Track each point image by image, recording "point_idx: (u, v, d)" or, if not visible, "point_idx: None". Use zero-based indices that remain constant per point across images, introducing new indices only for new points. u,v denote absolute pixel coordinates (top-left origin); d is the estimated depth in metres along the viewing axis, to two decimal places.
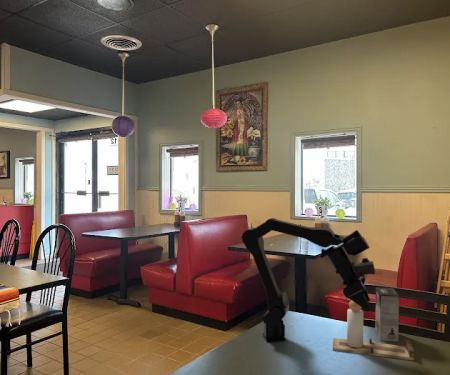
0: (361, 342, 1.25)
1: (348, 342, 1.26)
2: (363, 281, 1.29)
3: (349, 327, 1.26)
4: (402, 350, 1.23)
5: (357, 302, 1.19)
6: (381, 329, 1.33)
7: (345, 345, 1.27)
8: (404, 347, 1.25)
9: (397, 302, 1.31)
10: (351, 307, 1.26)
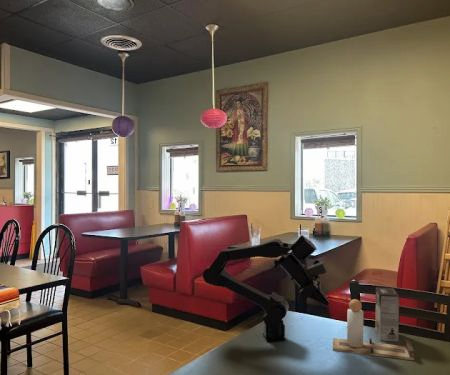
0: (361, 342, 1.25)
1: (348, 342, 1.26)
2: None
3: (349, 327, 1.26)
4: (402, 350, 1.23)
5: (316, 299, 1.29)
6: (381, 329, 1.33)
7: (345, 345, 1.27)
8: (404, 347, 1.25)
9: (397, 302, 1.31)
10: (351, 307, 1.26)
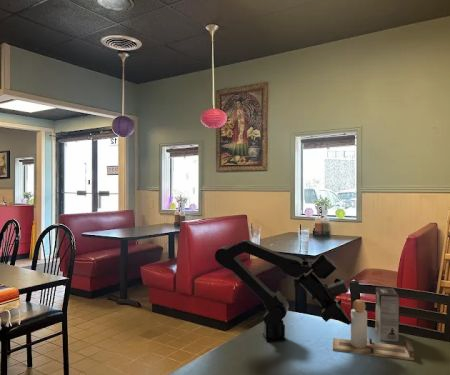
0: (365, 342, 1.25)
1: (352, 342, 1.26)
2: (340, 304, 1.29)
3: (353, 327, 1.25)
4: (402, 350, 1.23)
5: (338, 318, 1.27)
6: (381, 329, 1.33)
7: (345, 345, 1.27)
8: (404, 347, 1.25)
9: (397, 302, 1.31)
10: (355, 307, 1.25)
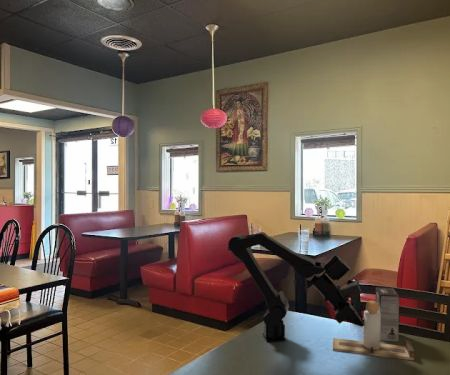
0: (378, 344, 1.23)
1: (365, 344, 1.25)
2: (353, 306, 1.28)
3: (366, 329, 1.24)
4: (402, 350, 1.23)
5: (350, 320, 1.26)
6: (381, 329, 1.33)
7: (345, 345, 1.27)
8: (404, 347, 1.25)
9: (397, 302, 1.31)
10: (368, 309, 1.24)
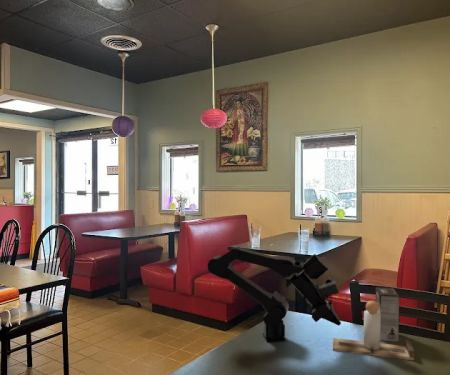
0: (378, 344, 1.23)
1: (365, 344, 1.25)
2: (330, 305, 1.30)
3: (366, 329, 1.24)
4: (402, 350, 1.23)
5: (328, 319, 1.28)
6: (381, 329, 1.33)
7: (345, 345, 1.27)
8: (404, 347, 1.25)
9: (397, 302, 1.31)
10: (368, 309, 1.24)
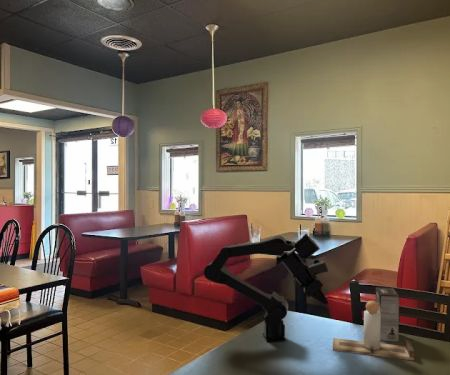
0: (378, 344, 1.23)
1: (365, 344, 1.25)
2: None
3: (366, 329, 1.24)
4: (402, 350, 1.23)
5: (316, 297, 1.30)
6: (381, 329, 1.33)
7: (345, 345, 1.27)
8: (404, 347, 1.25)
9: (397, 302, 1.31)
10: (368, 309, 1.24)
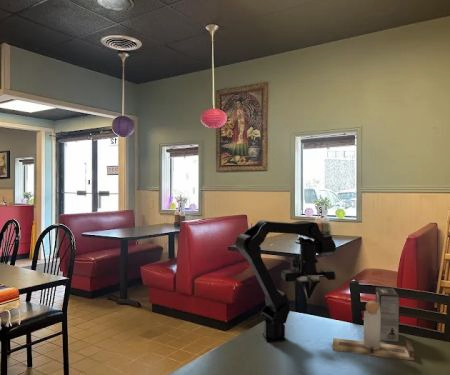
0: (378, 344, 1.23)
1: (365, 344, 1.25)
2: None
3: (366, 329, 1.24)
4: (402, 350, 1.23)
5: None
6: (381, 329, 1.33)
7: (345, 345, 1.27)
8: (404, 347, 1.25)
9: (397, 302, 1.31)
10: (368, 309, 1.24)
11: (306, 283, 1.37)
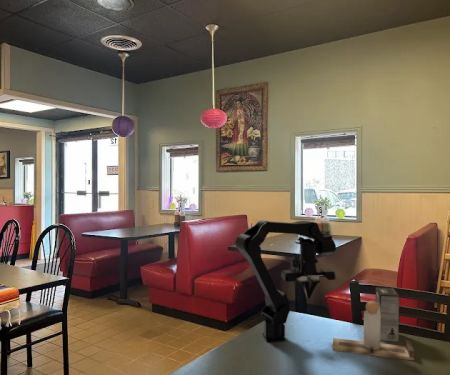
0: (378, 344, 1.23)
1: (365, 344, 1.25)
2: None
3: (366, 329, 1.24)
4: (402, 350, 1.23)
5: None
6: (381, 329, 1.33)
7: (345, 345, 1.27)
8: (404, 347, 1.25)
9: (397, 302, 1.31)
10: (368, 309, 1.24)
11: (306, 283, 1.37)
